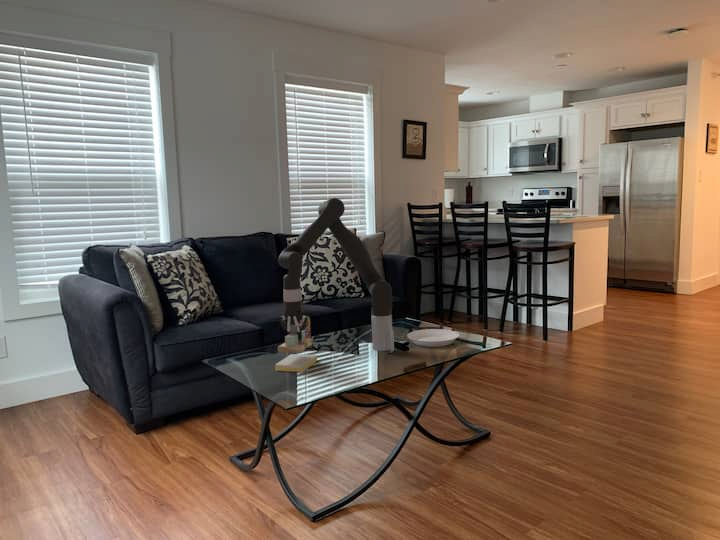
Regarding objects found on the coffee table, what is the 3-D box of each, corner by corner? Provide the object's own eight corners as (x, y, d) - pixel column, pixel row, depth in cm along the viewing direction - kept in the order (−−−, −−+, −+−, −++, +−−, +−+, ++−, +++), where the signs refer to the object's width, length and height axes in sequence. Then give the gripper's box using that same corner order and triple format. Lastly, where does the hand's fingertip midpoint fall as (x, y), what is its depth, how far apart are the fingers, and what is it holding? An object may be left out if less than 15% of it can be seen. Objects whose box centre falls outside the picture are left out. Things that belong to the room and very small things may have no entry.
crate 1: (289, 343, 232) (288, 334, 232) (298, 344, 231) (297, 334, 231) (285, 346, 228) (285, 336, 228) (294, 346, 227) (293, 336, 227)
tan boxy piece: (291, 342, 241) (290, 320, 240) (313, 343, 239) (311, 320, 237) (277, 351, 228) (276, 327, 227) (300, 352, 225) (298, 328, 224)
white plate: (402, 348, 260) (402, 340, 260) (413, 335, 284) (412, 328, 284) (456, 349, 253) (455, 342, 253) (462, 336, 277) (462, 329, 276)
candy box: (292, 350, 264) (290, 319, 262) (292, 348, 268) (290, 317, 266) (311, 349, 265) (309, 317, 263) (311, 347, 269) (309, 316, 268)
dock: (317, 364, 240) (317, 355, 240) (303, 375, 225) (302, 365, 224) (291, 363, 244) (290, 354, 243) (275, 374, 228) (275, 364, 228)
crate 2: (296, 339, 239) (296, 330, 238) (305, 339, 238) (304, 330, 237) (292, 341, 235) (292, 332, 235) (301, 342, 234) (301, 332, 233)
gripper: (311, 297, 232) (314, 338, 234) (281, 297, 236) (283, 337, 239) (305, 301, 225) (307, 342, 227) (273, 300, 229) (276, 341, 231)
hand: (295, 339), depth 233 cm, fingers closed on tan boxy piece, 3 cm apart
